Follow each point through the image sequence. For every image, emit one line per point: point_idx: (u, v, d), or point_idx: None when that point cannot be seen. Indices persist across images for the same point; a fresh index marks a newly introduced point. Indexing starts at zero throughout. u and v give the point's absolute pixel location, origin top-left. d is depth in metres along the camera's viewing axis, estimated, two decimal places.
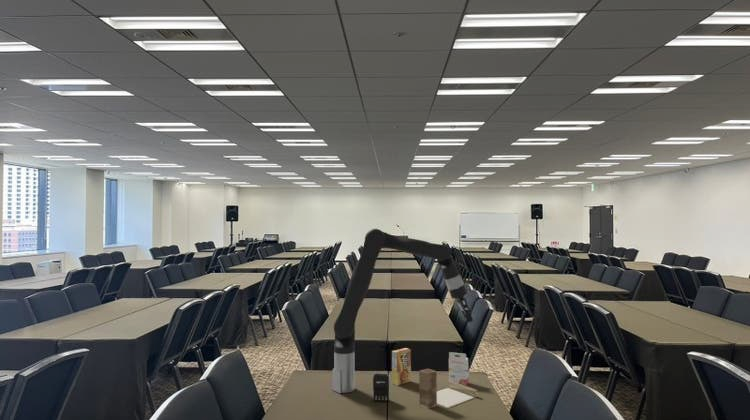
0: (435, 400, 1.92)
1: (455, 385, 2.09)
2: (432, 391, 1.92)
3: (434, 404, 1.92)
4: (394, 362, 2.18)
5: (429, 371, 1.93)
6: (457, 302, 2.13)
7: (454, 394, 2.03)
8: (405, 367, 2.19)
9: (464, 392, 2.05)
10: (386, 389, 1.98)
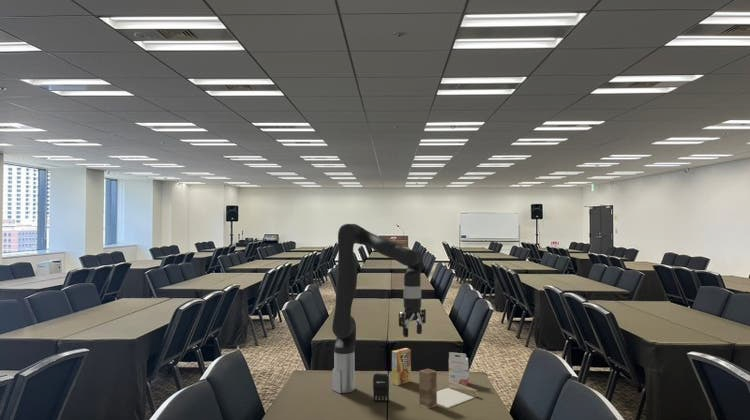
0: (435, 400, 1.92)
1: (455, 385, 2.09)
2: (432, 391, 1.92)
3: (434, 404, 1.92)
4: (394, 362, 2.18)
5: (429, 371, 1.93)
6: None
7: (454, 394, 2.03)
8: (405, 367, 2.19)
9: (464, 392, 2.05)
10: (386, 389, 1.98)
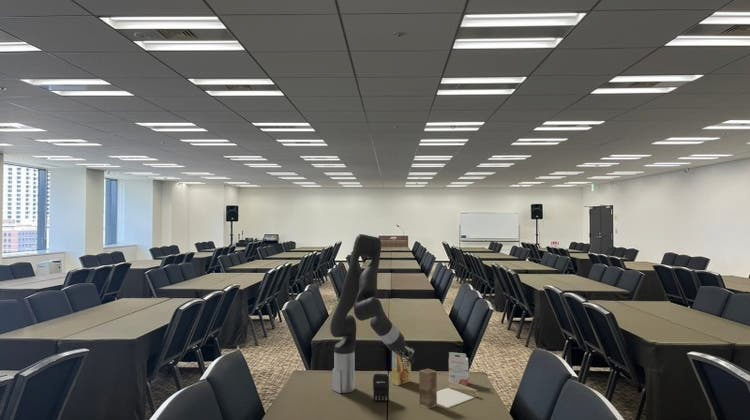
0: (435, 400, 1.92)
1: (455, 385, 2.09)
2: (432, 391, 1.92)
3: (434, 404, 1.92)
4: (394, 362, 2.18)
5: (429, 371, 1.93)
6: None
7: (454, 394, 2.03)
8: (405, 367, 2.19)
9: (464, 392, 2.05)
10: (386, 389, 1.98)
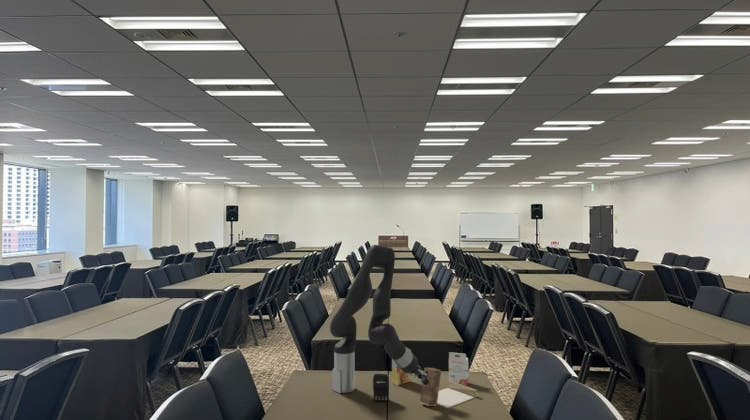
0: (436, 399, 1.93)
1: (455, 385, 2.09)
2: (435, 390, 1.92)
3: (434, 403, 1.92)
4: (394, 362, 2.18)
5: (433, 369, 1.95)
6: (417, 365, 1.88)
7: (454, 394, 2.03)
8: None
9: (464, 392, 2.05)
10: (386, 389, 1.98)
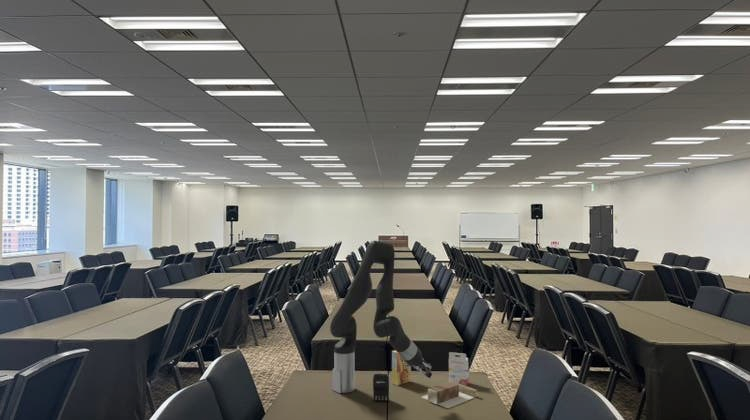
0: (440, 401, 1.94)
1: None
2: (446, 395, 1.97)
3: (437, 400, 1.93)
4: (394, 362, 2.18)
5: None
6: (421, 358, 1.90)
7: None
8: (405, 367, 2.19)
9: (464, 392, 2.05)
10: (386, 389, 1.98)
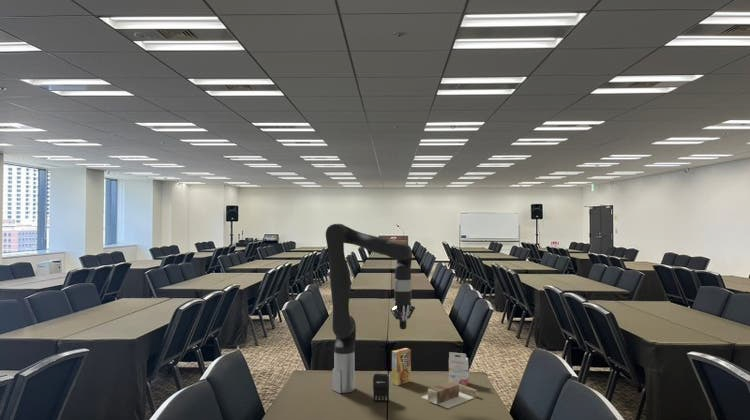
0: (440, 401, 1.94)
1: None
2: (446, 395, 1.97)
3: (437, 400, 1.93)
4: (394, 362, 2.18)
5: None
6: None
7: None
8: (405, 367, 2.19)
9: (464, 392, 2.05)
10: (386, 389, 1.98)
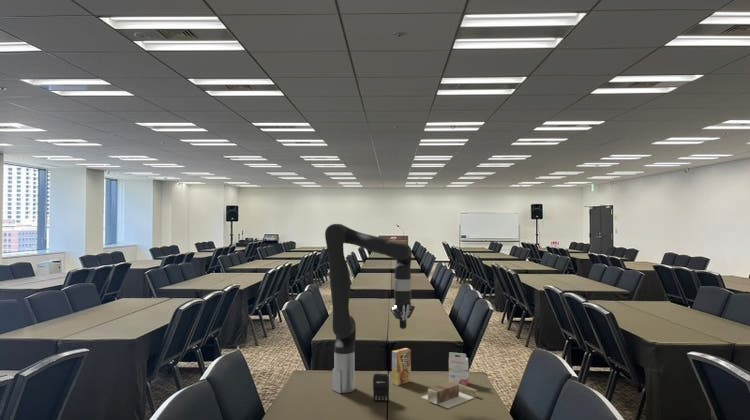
0: (440, 401, 1.94)
1: None
2: (446, 395, 1.97)
3: (437, 400, 1.93)
4: (394, 362, 2.18)
5: None
6: None
7: None
8: (405, 367, 2.19)
9: (464, 392, 2.05)
10: (386, 389, 1.98)
